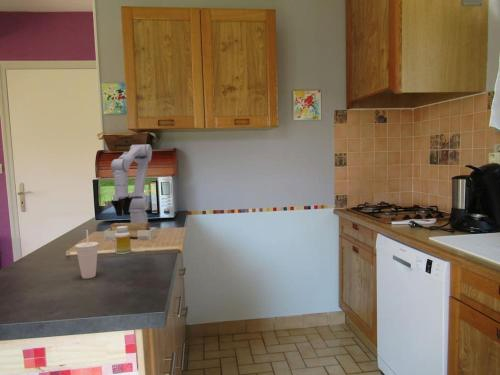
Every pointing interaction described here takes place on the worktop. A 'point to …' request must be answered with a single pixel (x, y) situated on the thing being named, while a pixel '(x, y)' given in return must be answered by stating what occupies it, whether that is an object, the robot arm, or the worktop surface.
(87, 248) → the smoothie
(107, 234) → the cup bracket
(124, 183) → the robot arm
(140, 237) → the cup bracket
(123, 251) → the supplement bottle
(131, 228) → the oak rail
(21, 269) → the worktop surface
